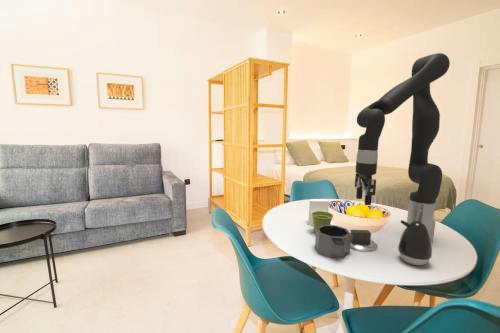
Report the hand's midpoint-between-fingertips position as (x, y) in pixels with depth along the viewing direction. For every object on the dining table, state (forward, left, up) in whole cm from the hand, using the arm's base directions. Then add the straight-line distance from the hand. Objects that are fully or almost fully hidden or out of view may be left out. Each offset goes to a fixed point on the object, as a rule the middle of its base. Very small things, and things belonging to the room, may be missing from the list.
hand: (363, 201), depth 105 cm
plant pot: (+13, -11, -18) cm, 25 cm away
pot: (+13, +6, -18) cm, 23 cm away
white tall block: (+12, -22, -18) cm, 31 cm away
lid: (0, 0, -19) cm, 19 cm away
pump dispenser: (-14, +13, -18) cm, 27 cm away
